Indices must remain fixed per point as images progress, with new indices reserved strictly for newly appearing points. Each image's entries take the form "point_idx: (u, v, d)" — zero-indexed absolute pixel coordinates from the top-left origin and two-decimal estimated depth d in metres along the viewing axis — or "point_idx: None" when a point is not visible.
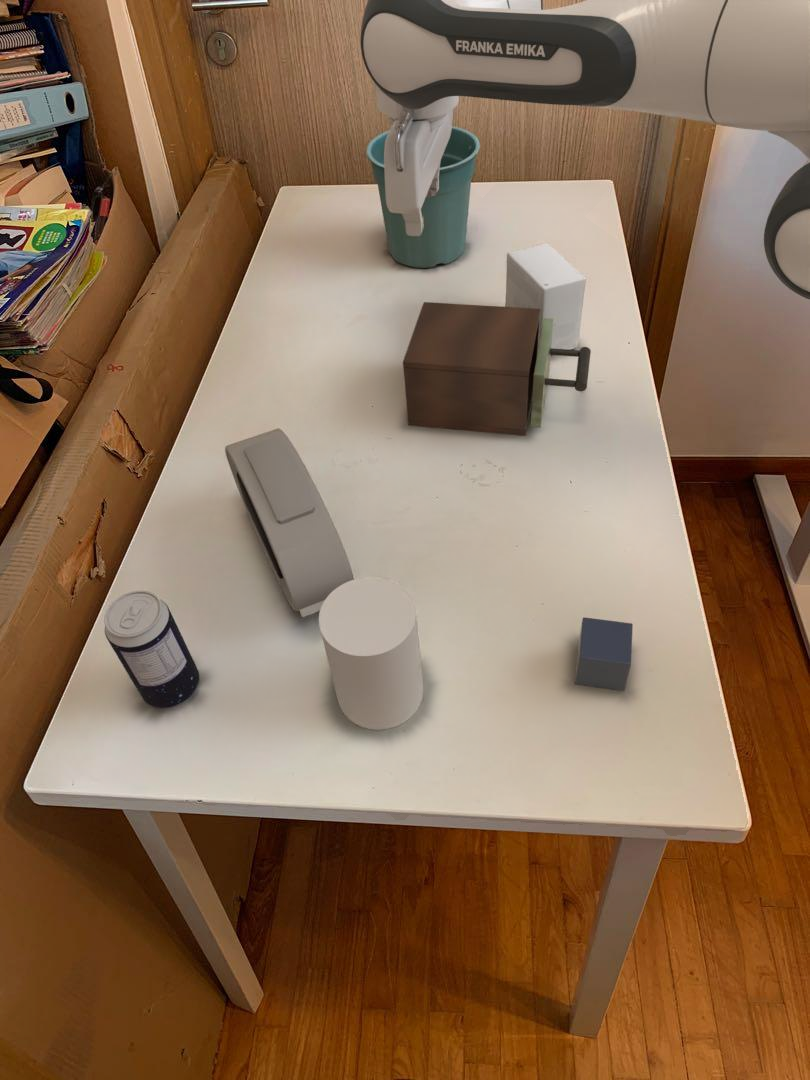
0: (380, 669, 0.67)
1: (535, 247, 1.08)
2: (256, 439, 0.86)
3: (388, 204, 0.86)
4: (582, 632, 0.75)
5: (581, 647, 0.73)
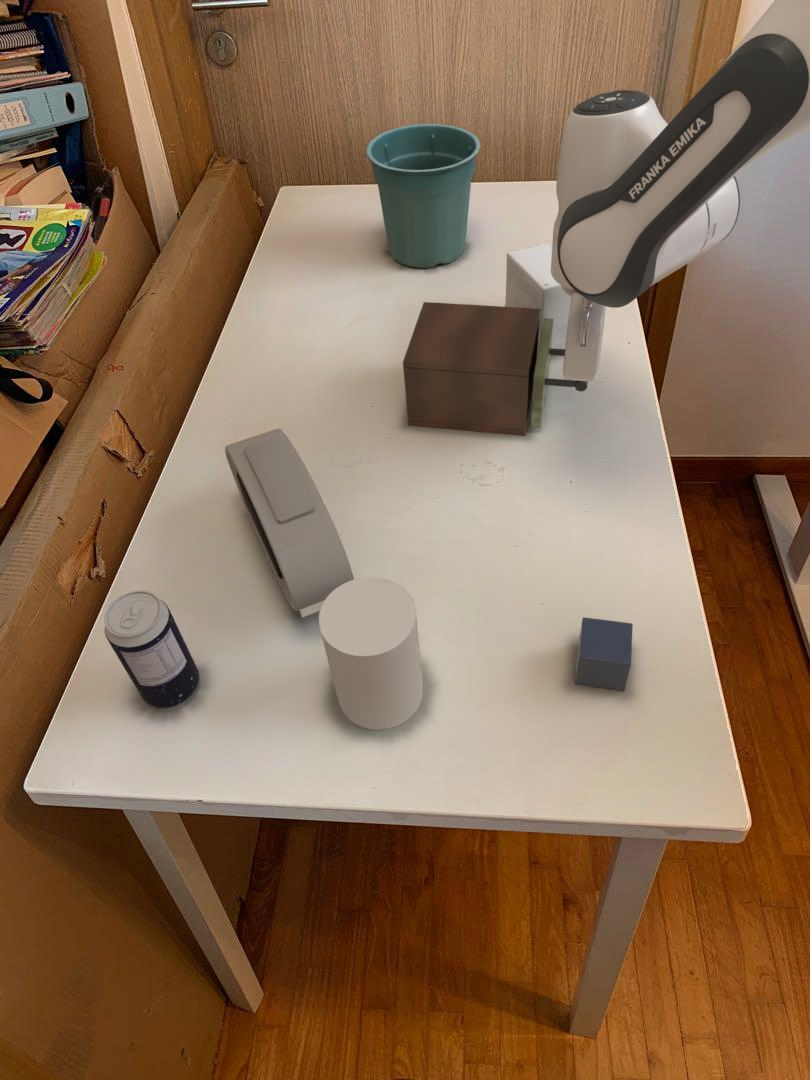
0: (380, 669, 0.67)
1: (535, 247, 1.08)
2: (256, 439, 0.86)
3: (566, 373, 0.87)
4: (582, 632, 0.75)
5: (581, 647, 0.73)
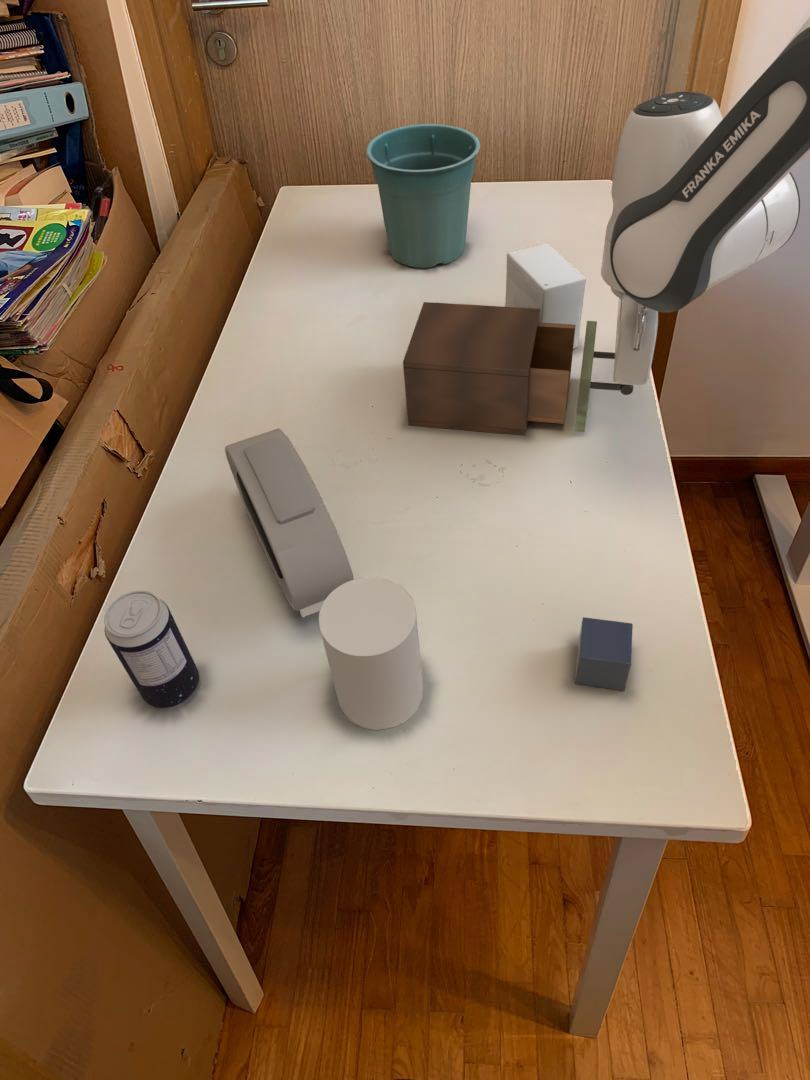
0: (380, 669, 0.67)
1: (535, 247, 1.08)
2: (256, 439, 0.86)
3: (617, 377, 0.86)
4: (582, 632, 0.75)
5: (581, 647, 0.73)
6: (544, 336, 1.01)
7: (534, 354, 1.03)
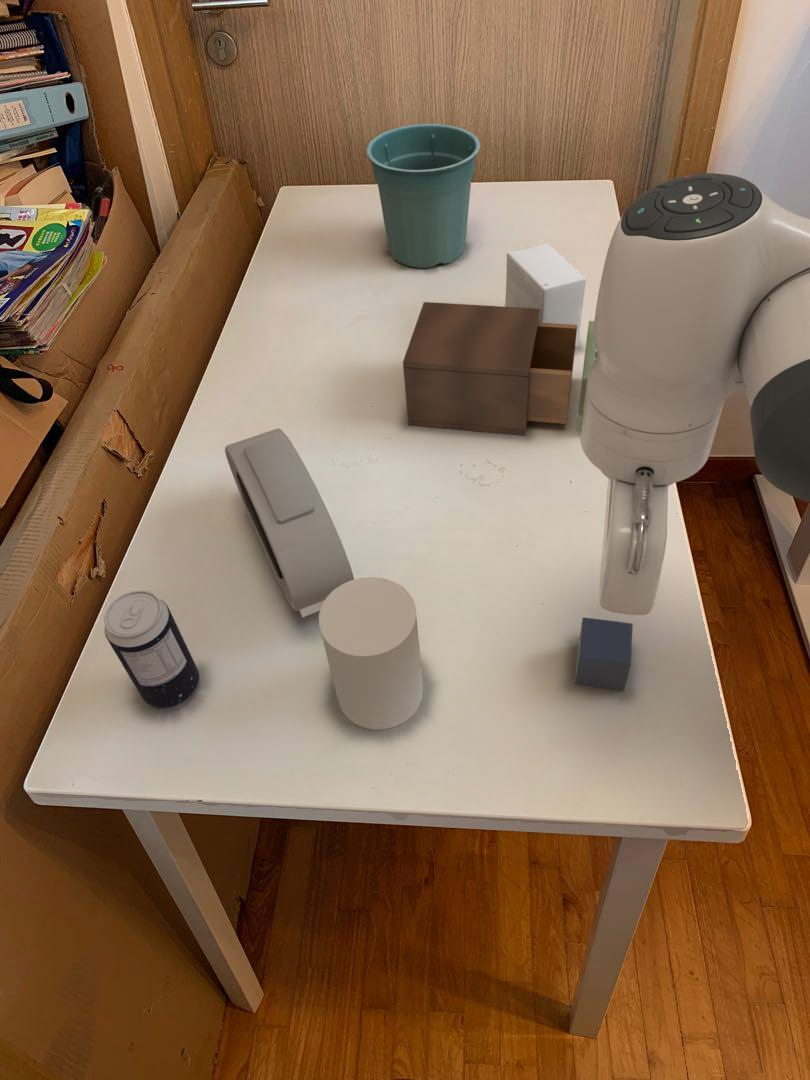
0: (380, 669, 0.67)
1: (535, 247, 1.08)
2: (256, 439, 0.86)
3: (603, 606, 0.56)
4: (582, 632, 0.75)
5: (581, 647, 0.73)
6: (545, 336, 1.01)
7: (536, 354, 1.03)
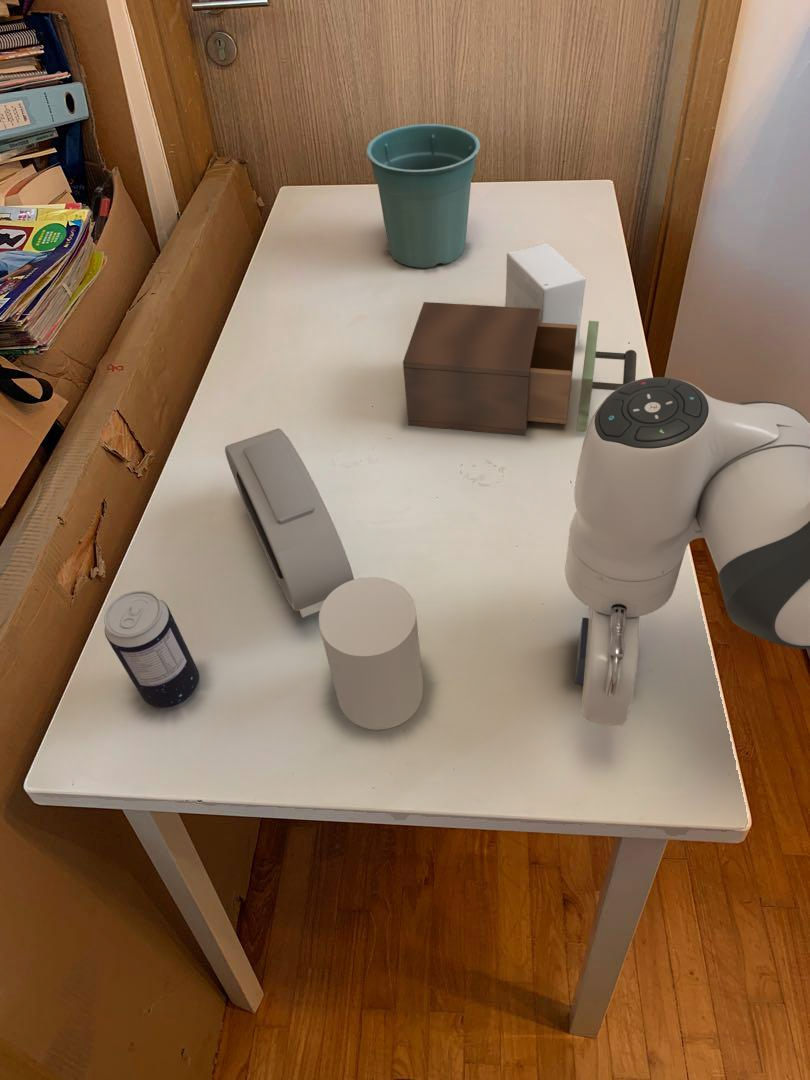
0: (380, 669, 0.67)
1: (535, 247, 1.08)
2: (256, 439, 0.86)
3: (586, 717, 0.65)
4: (582, 632, 0.75)
5: (581, 647, 0.73)
6: (545, 336, 1.01)
7: (536, 354, 1.03)
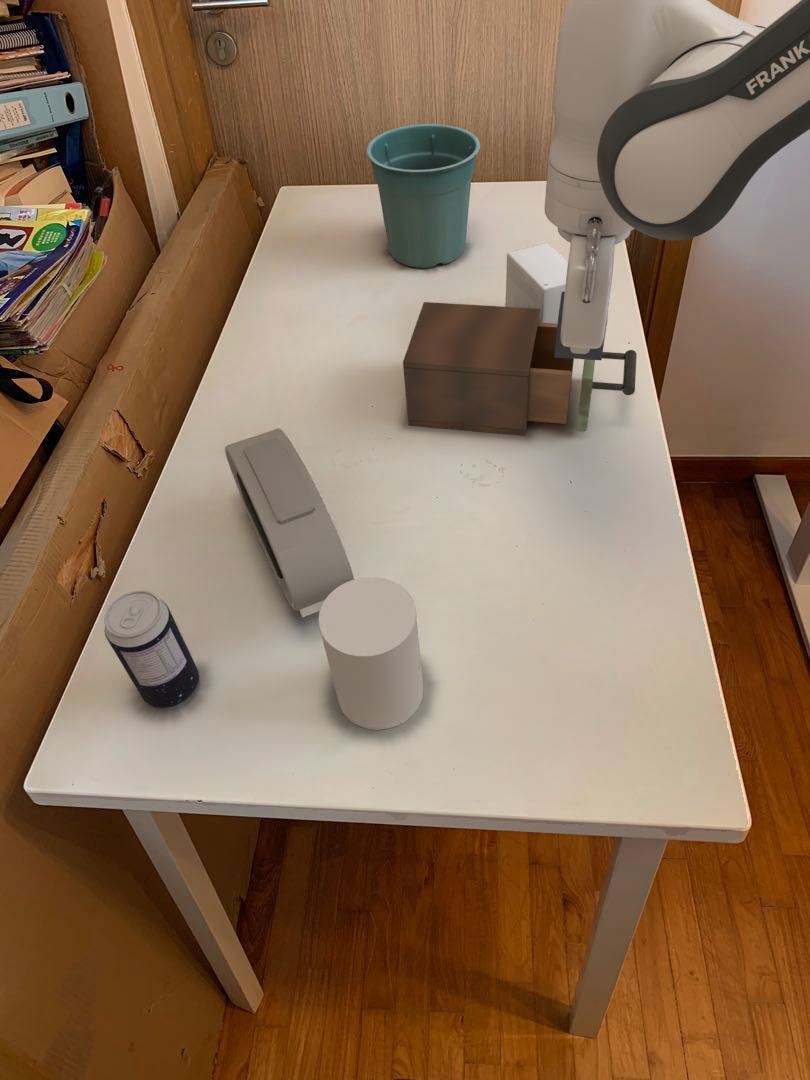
0: (380, 669, 0.67)
1: (535, 247, 1.08)
2: (256, 439, 0.86)
3: (564, 339, 0.69)
4: (561, 301, 0.78)
5: (560, 311, 0.77)
6: (545, 336, 1.01)
7: (536, 354, 1.03)
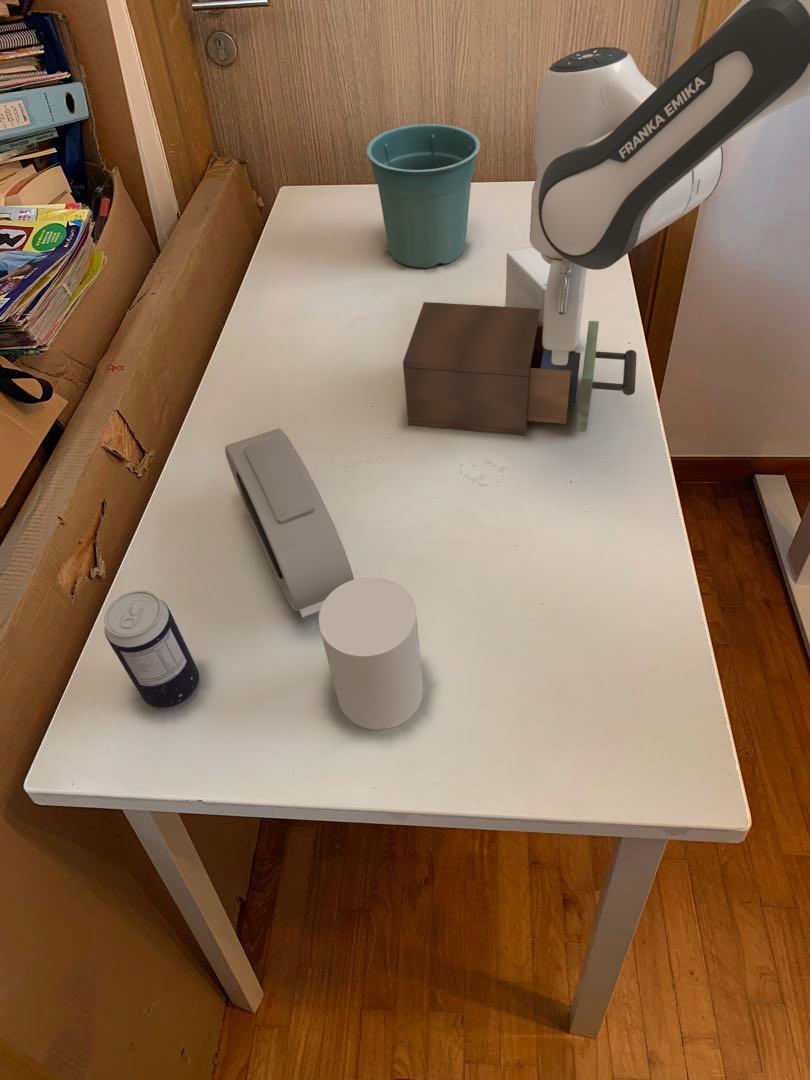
0: (380, 669, 0.67)
1: None
2: (256, 439, 0.86)
3: (545, 343, 0.85)
4: (542, 358, 0.99)
5: (541, 366, 0.98)
6: None
7: (536, 354, 1.03)
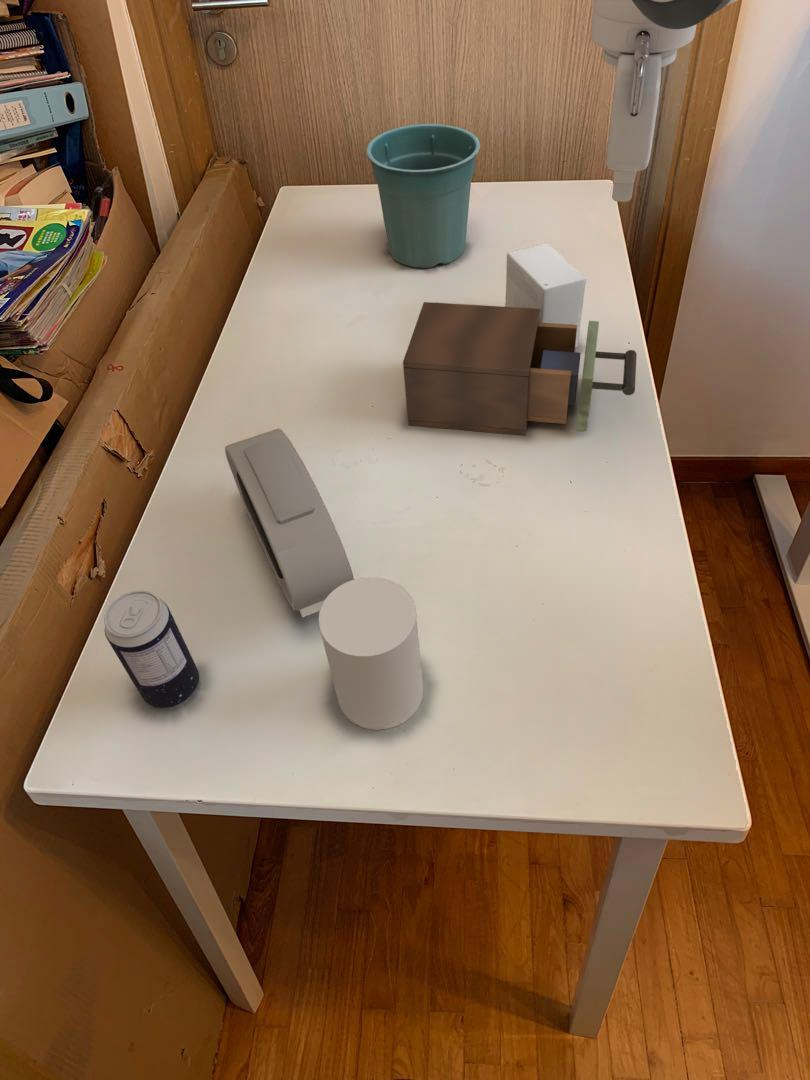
0: (380, 669, 0.67)
1: (535, 247, 1.08)
2: (256, 439, 0.86)
3: (610, 158, 0.70)
4: (542, 358, 0.99)
5: (541, 366, 0.98)
6: (545, 336, 1.01)
7: (536, 354, 1.03)
